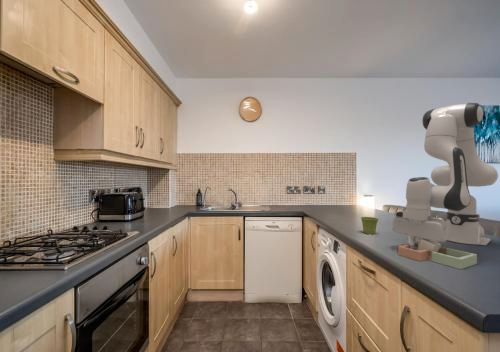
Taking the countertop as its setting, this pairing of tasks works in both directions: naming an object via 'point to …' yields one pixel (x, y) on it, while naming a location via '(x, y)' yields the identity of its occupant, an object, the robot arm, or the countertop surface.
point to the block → (428, 245)
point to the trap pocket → (412, 253)
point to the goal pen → (455, 258)
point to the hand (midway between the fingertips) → (417, 247)
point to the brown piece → (441, 250)
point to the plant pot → (369, 224)
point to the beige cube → (411, 240)
